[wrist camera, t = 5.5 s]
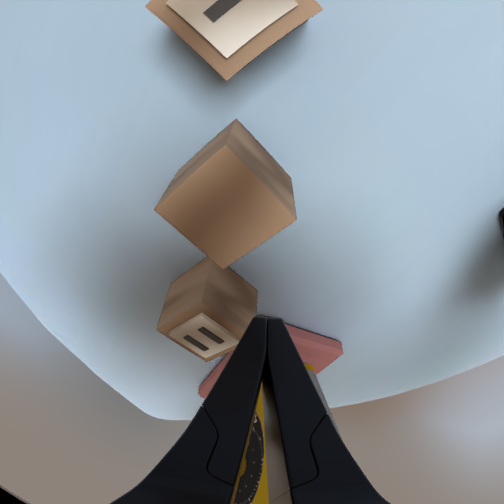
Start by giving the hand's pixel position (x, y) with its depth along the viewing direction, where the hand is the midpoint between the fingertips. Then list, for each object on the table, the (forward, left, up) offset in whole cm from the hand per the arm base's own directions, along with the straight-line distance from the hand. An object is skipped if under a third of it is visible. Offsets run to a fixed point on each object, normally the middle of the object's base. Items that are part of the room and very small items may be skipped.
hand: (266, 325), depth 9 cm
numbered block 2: (-5, +10, -12) cm, 16 cm away
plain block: (+1, +2, -12) cm, 12 cm away
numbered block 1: (+8, -5, -12) cm, 15 cm away
